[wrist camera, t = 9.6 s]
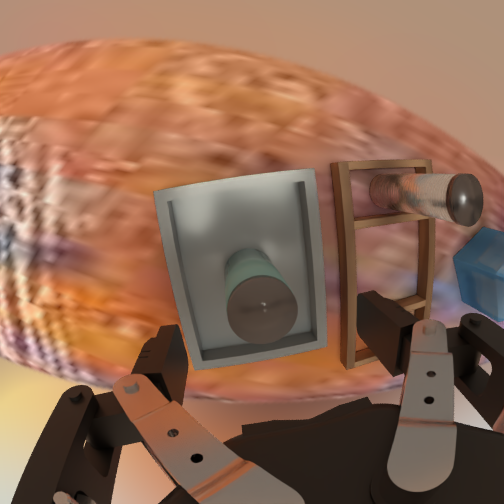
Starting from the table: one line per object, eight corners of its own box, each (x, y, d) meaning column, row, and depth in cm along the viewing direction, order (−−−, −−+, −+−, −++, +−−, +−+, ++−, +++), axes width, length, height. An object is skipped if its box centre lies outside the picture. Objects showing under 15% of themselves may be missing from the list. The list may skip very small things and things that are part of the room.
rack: (420, 160, 21) (431, 159, 19) (417, 335, 25) (425, 342, 24) (330, 163, 20) (338, 162, 19) (340, 361, 24) (346, 369, 23)
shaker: (270, 244, 20) (295, 273, 13) (276, 291, 21) (301, 337, 14) (220, 252, 20) (220, 285, 13) (228, 299, 21) (233, 350, 14)
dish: (304, 169, 20) (314, 168, 18) (318, 333, 23) (327, 346, 21) (160, 190, 19) (153, 191, 17) (196, 355, 23) (194, 370, 20)
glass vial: (395, 172, 21) (482, 173, 11) (398, 206, 22) (483, 223, 12) (367, 174, 21) (452, 173, 11) (370, 210, 21) (454, 229, 12)
